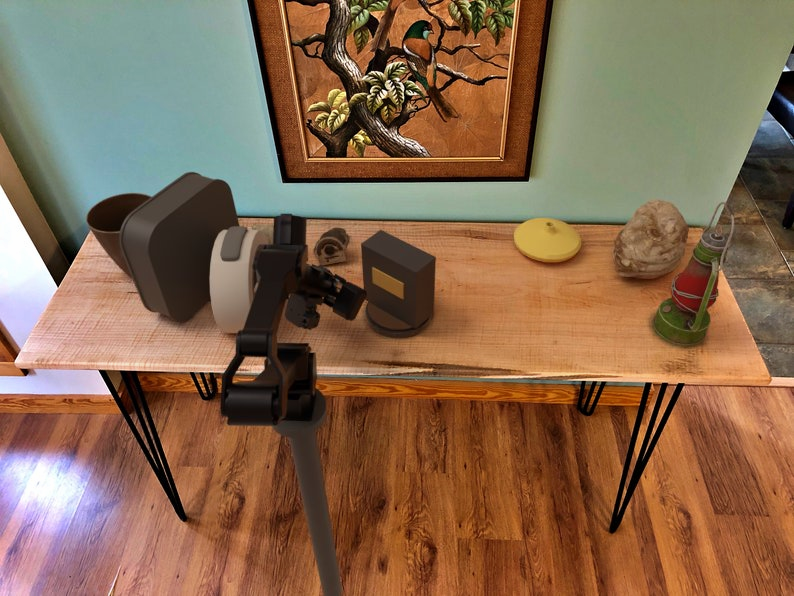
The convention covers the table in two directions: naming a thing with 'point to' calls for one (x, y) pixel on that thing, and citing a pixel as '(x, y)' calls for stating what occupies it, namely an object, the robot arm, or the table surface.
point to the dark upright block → (397, 282)
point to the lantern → (694, 290)
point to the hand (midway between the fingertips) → (344, 291)
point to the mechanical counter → (332, 246)
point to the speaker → (177, 243)
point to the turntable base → (395, 332)
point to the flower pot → (113, 223)
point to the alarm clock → (234, 276)
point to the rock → (651, 241)
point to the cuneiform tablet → (265, 231)
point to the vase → (547, 240)
